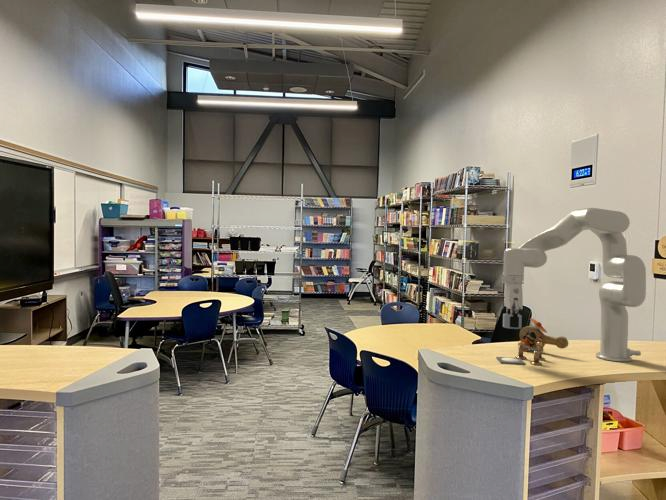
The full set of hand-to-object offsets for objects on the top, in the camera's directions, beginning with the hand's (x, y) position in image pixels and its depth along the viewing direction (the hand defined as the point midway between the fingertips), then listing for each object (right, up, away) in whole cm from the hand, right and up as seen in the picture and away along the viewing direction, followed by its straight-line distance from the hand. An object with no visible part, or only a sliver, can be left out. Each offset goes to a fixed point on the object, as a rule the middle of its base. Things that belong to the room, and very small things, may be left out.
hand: (512, 325), depth 183 cm
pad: (-1, -14, -1) cm, 14 cm away
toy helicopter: (+19, -15, +18) cm, 30 cm away
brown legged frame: (+8, -14, +1) cm, 17 cm away
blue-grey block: (0, -1, 0) cm, 1 cm away
